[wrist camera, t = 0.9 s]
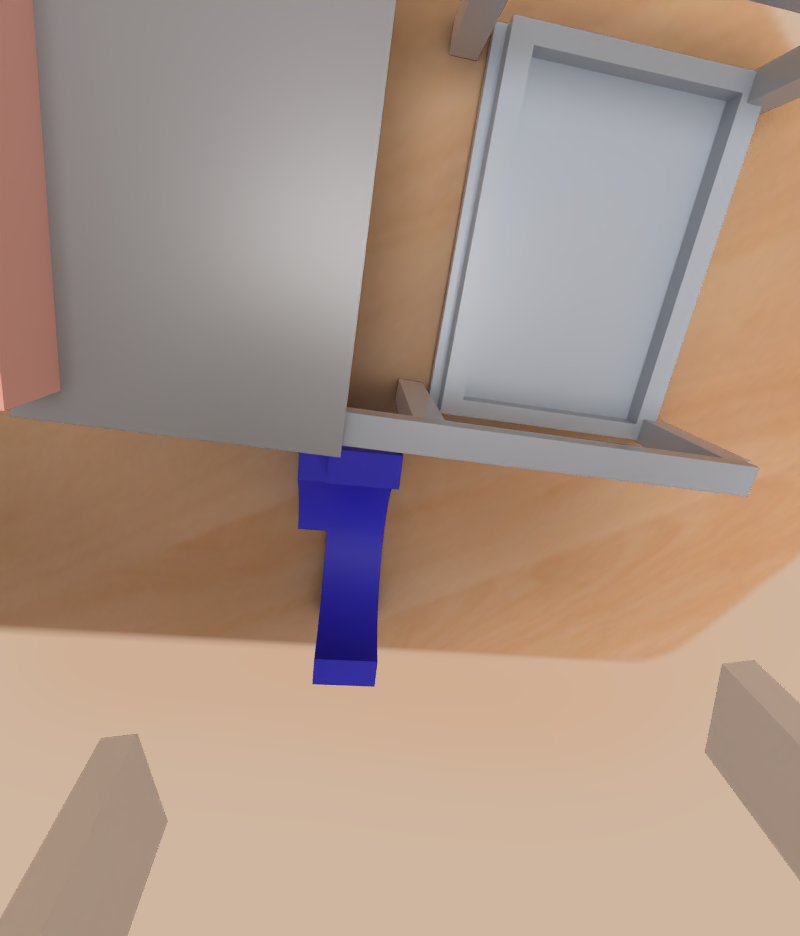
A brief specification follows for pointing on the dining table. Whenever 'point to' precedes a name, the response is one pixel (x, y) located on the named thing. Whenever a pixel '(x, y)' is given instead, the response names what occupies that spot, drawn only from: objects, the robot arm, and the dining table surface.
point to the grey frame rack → (582, 253)
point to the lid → (187, 213)
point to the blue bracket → (348, 555)
